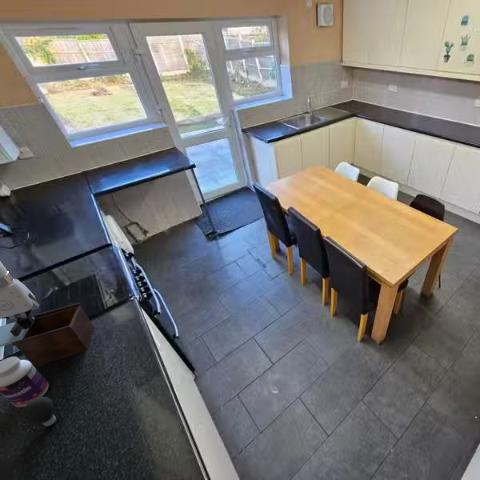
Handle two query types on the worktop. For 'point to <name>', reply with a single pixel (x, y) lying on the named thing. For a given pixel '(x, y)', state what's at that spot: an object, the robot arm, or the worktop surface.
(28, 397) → the pill bottle
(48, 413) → the light bulb
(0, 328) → the glass lid
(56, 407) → the worktop surface
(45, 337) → the display box
